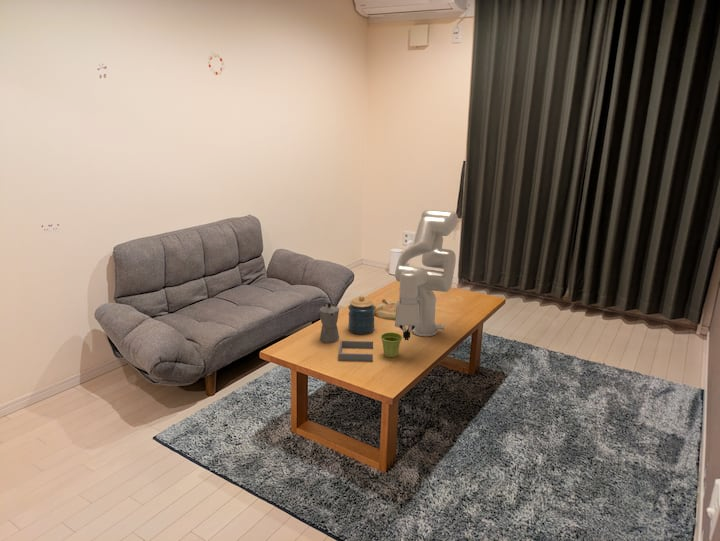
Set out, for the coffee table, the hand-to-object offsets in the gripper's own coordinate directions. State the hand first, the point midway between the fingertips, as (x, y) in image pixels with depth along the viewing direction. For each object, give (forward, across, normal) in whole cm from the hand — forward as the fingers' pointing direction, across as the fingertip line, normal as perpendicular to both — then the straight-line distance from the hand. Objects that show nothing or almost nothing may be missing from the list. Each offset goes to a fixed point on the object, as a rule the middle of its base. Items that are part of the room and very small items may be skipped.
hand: (406, 339), depth 226 cm
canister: (+8, +20, -27) cm, 35 cm away
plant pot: (+8, +7, 0) cm, 10 cm away
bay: (+8, +22, 0) cm, 23 cm away
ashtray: (+8, +3, -51) cm, 52 cm away
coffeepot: (+8, +35, -16) cm, 40 cm away
